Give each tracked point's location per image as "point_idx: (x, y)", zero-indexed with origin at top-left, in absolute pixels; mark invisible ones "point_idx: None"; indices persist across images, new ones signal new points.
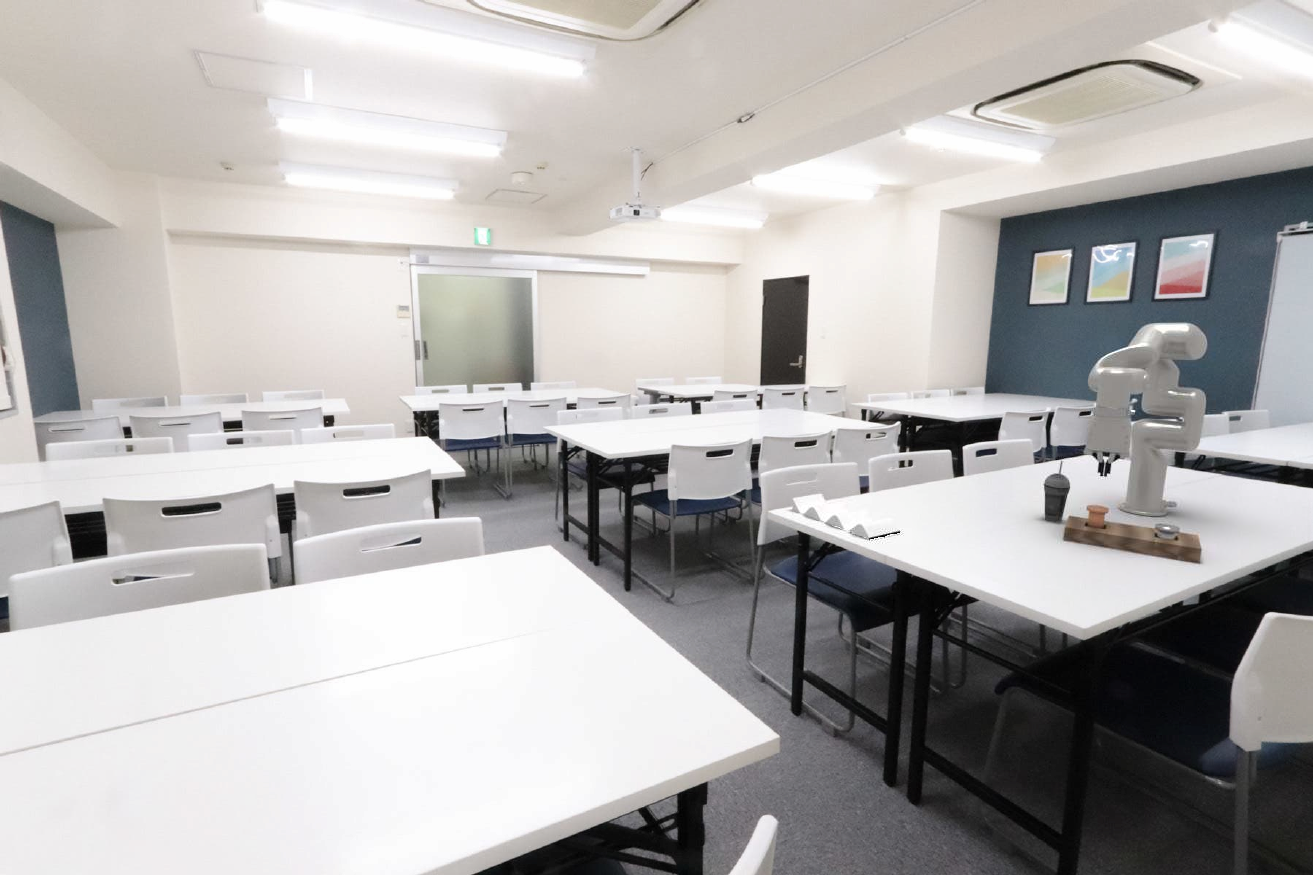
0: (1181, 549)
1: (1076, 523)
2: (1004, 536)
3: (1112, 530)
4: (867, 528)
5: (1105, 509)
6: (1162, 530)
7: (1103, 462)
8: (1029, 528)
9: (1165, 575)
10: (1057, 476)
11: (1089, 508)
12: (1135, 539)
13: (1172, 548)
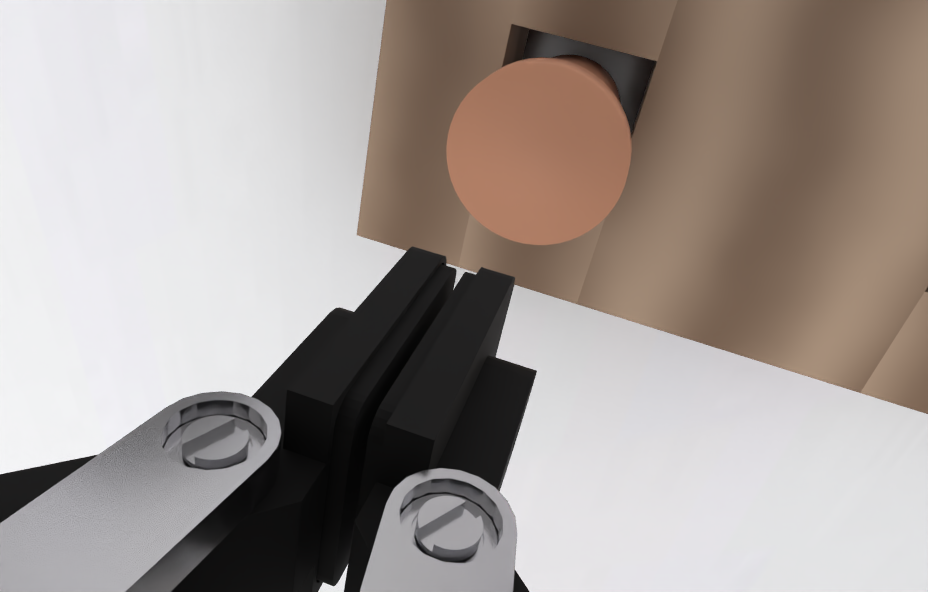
0: None
1: (436, 110)
2: (135, 242)
3: (654, 212)
4: None
5: (589, 208)
6: None
7: (306, 564)
8: (215, 11)
9: (744, 584)
10: None
11: (461, 199)
12: (748, 354)
13: None
